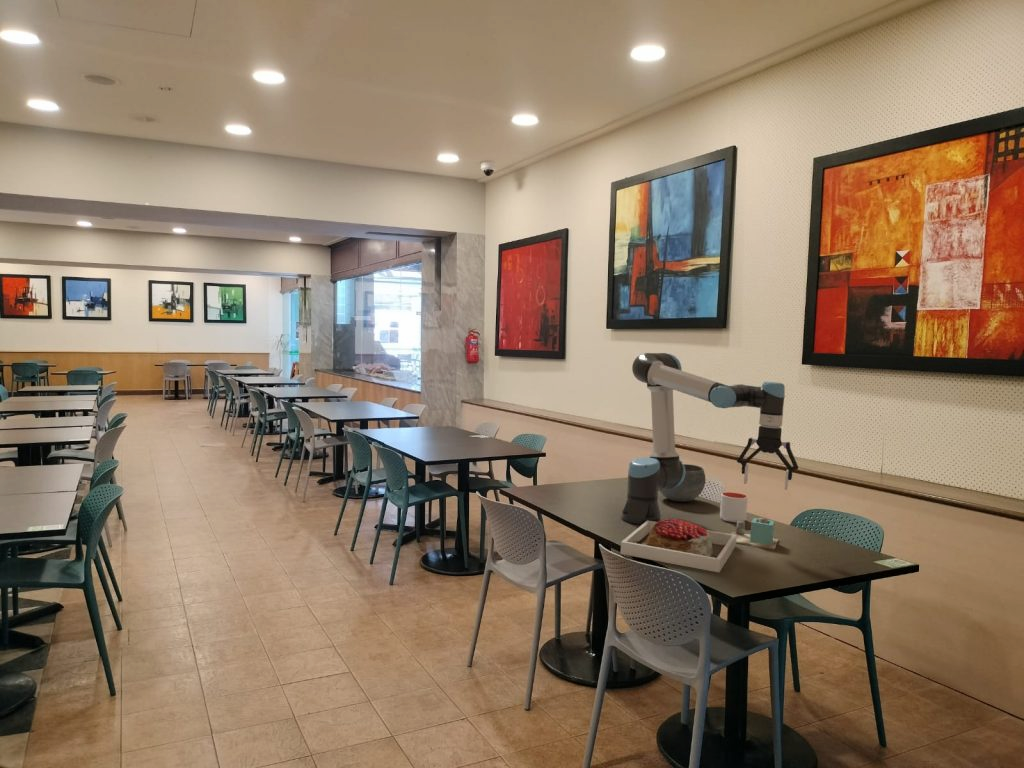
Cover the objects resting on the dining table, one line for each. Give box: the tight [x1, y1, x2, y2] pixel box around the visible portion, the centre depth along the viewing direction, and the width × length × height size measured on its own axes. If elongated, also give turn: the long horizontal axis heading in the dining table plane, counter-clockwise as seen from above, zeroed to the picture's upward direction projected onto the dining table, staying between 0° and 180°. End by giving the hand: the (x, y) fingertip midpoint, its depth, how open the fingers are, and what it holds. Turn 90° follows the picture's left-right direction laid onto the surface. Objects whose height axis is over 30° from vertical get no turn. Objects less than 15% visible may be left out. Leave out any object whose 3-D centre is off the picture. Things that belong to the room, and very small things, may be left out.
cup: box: [719, 491, 749, 524], centre depth 279 cm, size 10×10×10 cm
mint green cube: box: [750, 517, 775, 545], centre depth 250 cm, size 7×7×7 cm
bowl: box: [658, 463, 706, 503], centre depth 308 cm, size 21×21×15 cm
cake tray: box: [620, 520, 737, 573], centre depth 237 cm, size 31×31×4 cm
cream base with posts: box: [730, 517, 779, 550], centre depth 251 cm, size 16×12×9 cm
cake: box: [636, 518, 714, 557], centre depth 234 cm, size 23×24×10 cm
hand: (765, 486), depth 249 cm, fingers open, 13 cm apart
